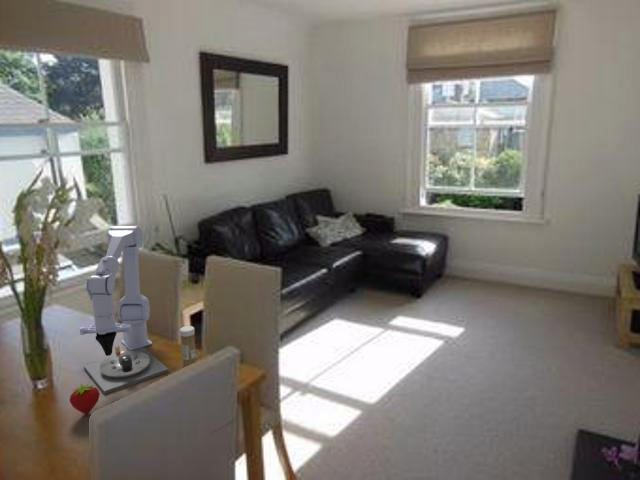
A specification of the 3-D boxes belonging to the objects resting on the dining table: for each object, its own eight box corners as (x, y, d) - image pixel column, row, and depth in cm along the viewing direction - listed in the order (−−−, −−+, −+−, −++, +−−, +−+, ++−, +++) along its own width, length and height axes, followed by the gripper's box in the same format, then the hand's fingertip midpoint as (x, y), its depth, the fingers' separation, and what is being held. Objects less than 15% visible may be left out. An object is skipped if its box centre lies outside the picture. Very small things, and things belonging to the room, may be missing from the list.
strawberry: (102, 416, 136) (98, 383, 134) (72, 423, 133) (67, 390, 131) (101, 405, 141) (97, 373, 139) (72, 411, 138) (67, 379, 136)
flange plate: (92, 364, 161) (90, 350, 160) (136, 349, 171) (135, 336, 170) (111, 384, 150) (109, 369, 149) (157, 367, 160) (156, 352, 159)
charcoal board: (84, 368, 161) (83, 365, 161) (144, 349, 174) (143, 347, 174) (104, 394, 147) (104, 391, 147) (168, 371, 159) (168, 368, 159)
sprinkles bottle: (198, 366, 163) (196, 329, 159) (185, 370, 160) (182, 332, 157) (194, 361, 166) (191, 324, 163) (180, 364, 164) (177, 327, 160)
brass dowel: (115, 357, 167) (114, 346, 166) (119, 355, 168) (118, 345, 167) (116, 358, 166) (115, 347, 165) (121, 357, 167) (119, 346, 166)
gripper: (74, 319, 144) (79, 361, 148) (125, 317, 146) (129, 359, 149) (82, 310, 151) (88, 350, 155) (131, 308, 153) (135, 348, 156)
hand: (109, 354), depth 152 cm, fingers closed
